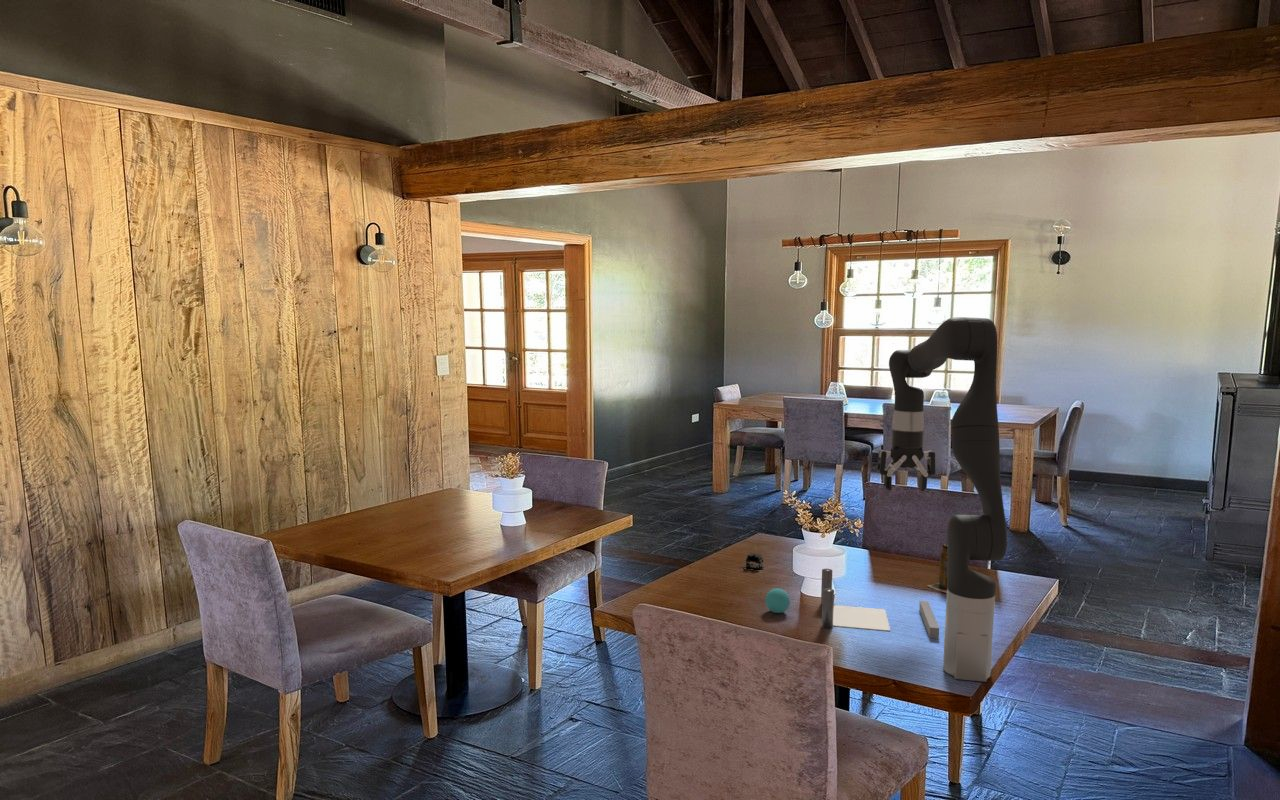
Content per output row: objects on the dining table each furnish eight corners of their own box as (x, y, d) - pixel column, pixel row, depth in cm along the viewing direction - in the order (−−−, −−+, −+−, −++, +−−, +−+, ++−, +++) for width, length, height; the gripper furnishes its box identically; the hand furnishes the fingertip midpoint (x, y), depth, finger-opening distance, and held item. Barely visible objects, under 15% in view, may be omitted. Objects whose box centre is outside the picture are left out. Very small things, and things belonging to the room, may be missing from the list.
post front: (832, 629, 189) (834, 592, 188) (821, 628, 190) (823, 591, 189) (832, 625, 192) (834, 588, 191) (821, 624, 192) (822, 588, 191)
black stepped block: (730, 569, 235) (730, 554, 235) (739, 563, 242) (739, 548, 241) (770, 576, 230) (771, 561, 229) (778, 569, 236) (779, 554, 235)
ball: (789, 617, 196) (790, 594, 196) (764, 615, 198) (765, 592, 197) (789, 609, 202) (790, 586, 202) (765, 607, 203) (766, 584, 203)
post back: (831, 606, 205) (832, 572, 204) (820, 605, 205) (822, 571, 204) (831, 602, 207) (832, 569, 206) (820, 602, 208) (821, 568, 207)
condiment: (969, 589, 219) (971, 546, 218) (949, 594, 215) (952, 550, 213) (946, 581, 225) (948, 539, 224) (926, 586, 221) (928, 544, 219)
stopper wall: (938, 638, 185) (939, 628, 184) (929, 637, 185) (930, 627, 185) (927, 610, 202) (928, 601, 202) (919, 610, 202) (919, 600, 202)
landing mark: (890, 631, 189) (890, 630, 189) (829, 625, 192) (829, 625, 192) (885, 610, 202) (885, 609, 202) (828, 605, 205) (828, 604, 205)
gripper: (884, 429, 201) (882, 493, 203) (941, 430, 201) (938, 494, 203) (875, 426, 208) (873, 487, 210) (930, 426, 209) (927, 487, 210)
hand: (905, 490), depth 206 cm, fingers open, 8 cm apart
